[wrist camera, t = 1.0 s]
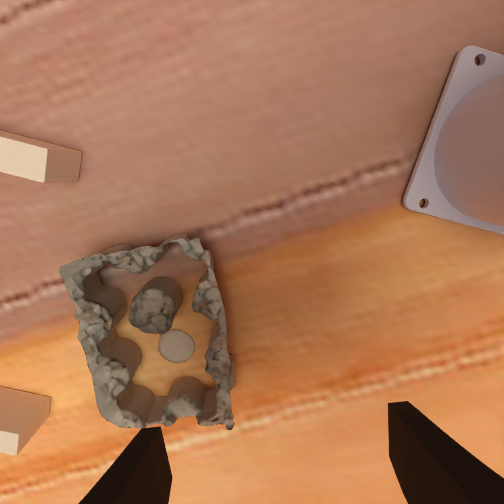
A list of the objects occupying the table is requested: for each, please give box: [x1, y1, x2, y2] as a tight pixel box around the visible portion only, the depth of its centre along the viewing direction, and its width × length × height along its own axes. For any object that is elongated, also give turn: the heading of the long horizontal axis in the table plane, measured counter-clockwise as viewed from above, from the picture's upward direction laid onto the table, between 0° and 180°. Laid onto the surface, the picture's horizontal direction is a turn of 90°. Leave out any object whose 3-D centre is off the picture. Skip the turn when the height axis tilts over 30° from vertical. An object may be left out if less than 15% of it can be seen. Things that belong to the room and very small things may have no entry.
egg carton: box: [59, 234, 236, 430], centre depth 18 cm, size 11×8×4 cm
